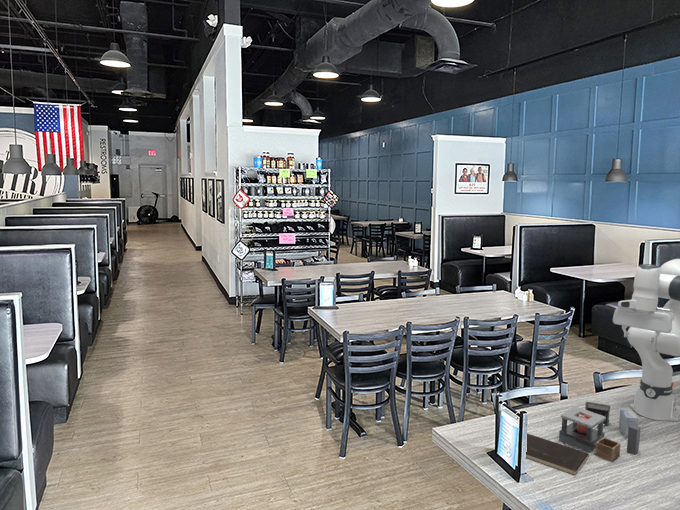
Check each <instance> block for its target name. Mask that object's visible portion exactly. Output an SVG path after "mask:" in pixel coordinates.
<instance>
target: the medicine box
mask: <svg viewBox="0 0 680 510" xmlns="http://www.w3.org/2000/svg"><path fill="white" fill-rule="evenodd" d="M631 425H635V426H638V427H639V417H638V416H637V415H636V414H635V411H633V410H632V409H625V408H621V409H619V421H618V430H620V431H621V433H622V435H623V436H624V437H625V438H627V439H628V430H629V426H631Z"/></svg>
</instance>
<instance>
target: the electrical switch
mask: <svg viewBox="0 0 680 510" xmlns="http://www.w3.org/2000/svg"><path fill="white" fill-rule="evenodd" d="M584 406H585V407H584V410H587V411H590V412H593V413H596V414H599V415H602V416H605V417H606V419H605V420H604V423H603V424H605V425H604V426H608V423H610V422H609V421H610V412H611V411H610V410H611V404H610V403H604V402H598V401H593V400H586V401H585V405H584ZM583 417H586V416H583ZM586 418H588V419H589V417H586Z"/></svg>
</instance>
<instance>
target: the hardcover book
mask: <svg viewBox="0 0 680 510" xmlns="http://www.w3.org/2000/svg"><path fill="white" fill-rule="evenodd" d="M589 457H590V454H589V452H587V451H584V450H581V449H578V448H574V447H572V446H571V447H570V446H567V445H564V444H561V443H559V442H555V441H552V440H549V439H547V438H543V437H540V436H537V435H533V434H531V433H527V452H526V457H525V458H526V459H530V460H532V461H535V462H538V463H541V464H544V465H547V466H549V467H552V468H553V469H556V470H561V471H564V472H566V473H568V474H571V475H575V476H576V475H577V474H578V471H580V470H581V468H582V466H583V465H584V463H585V462H586V460H587V459H588V458H589Z"/></svg>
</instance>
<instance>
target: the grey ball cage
mask: <svg viewBox="0 0 680 510" xmlns="http://www.w3.org/2000/svg"><path fill="white" fill-rule="evenodd" d="M580 415H581V416H582V417H584V416H586V417H589V419H588V420H585V419H582V418H580V417H579V416H580ZM560 418H561V419H562V420H561V429H560V430H559V431H558V432H559V433H558V441H559V442H562V443H564V444H567V445H570V446H571V447H573V448H574V447H575V448H576V449H578V450H581V451H583V452H586V453H592V452H593V451H594V450H595V448H596V442H597V441H599V440H600V439H601V438H603V437H604V438H605V432H604V425H603V423H604V420H605V419H606V417H605V416H602V415H599V414H596V413H593V412H590V411H587V410H585V408H582V407H578V406H576V405H574V406H573V407H572V408H570V409H569V410H567V411H565V412H563V413H561V414H560ZM568 421H569V422H571V423H569V424H568ZM577 423H578V424H580V425H583V426H586V427H587V433H580V432H578V431H577ZM595 427H597V429H595Z"/></svg>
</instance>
